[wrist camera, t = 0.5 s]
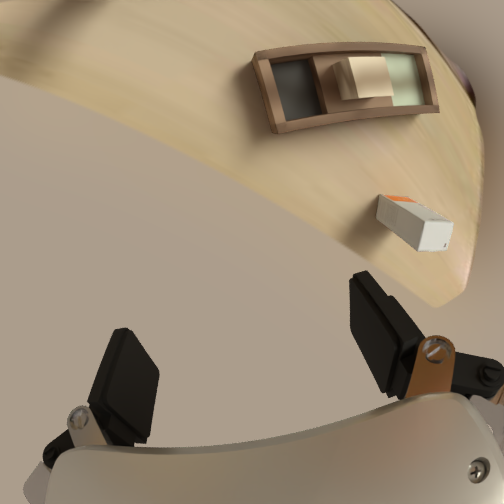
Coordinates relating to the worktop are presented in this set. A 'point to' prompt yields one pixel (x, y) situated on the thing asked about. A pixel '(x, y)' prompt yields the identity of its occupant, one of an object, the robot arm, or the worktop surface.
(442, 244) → the skincare box
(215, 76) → the worktop surface
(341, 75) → the birch block
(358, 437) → the robot arm
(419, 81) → the channel
